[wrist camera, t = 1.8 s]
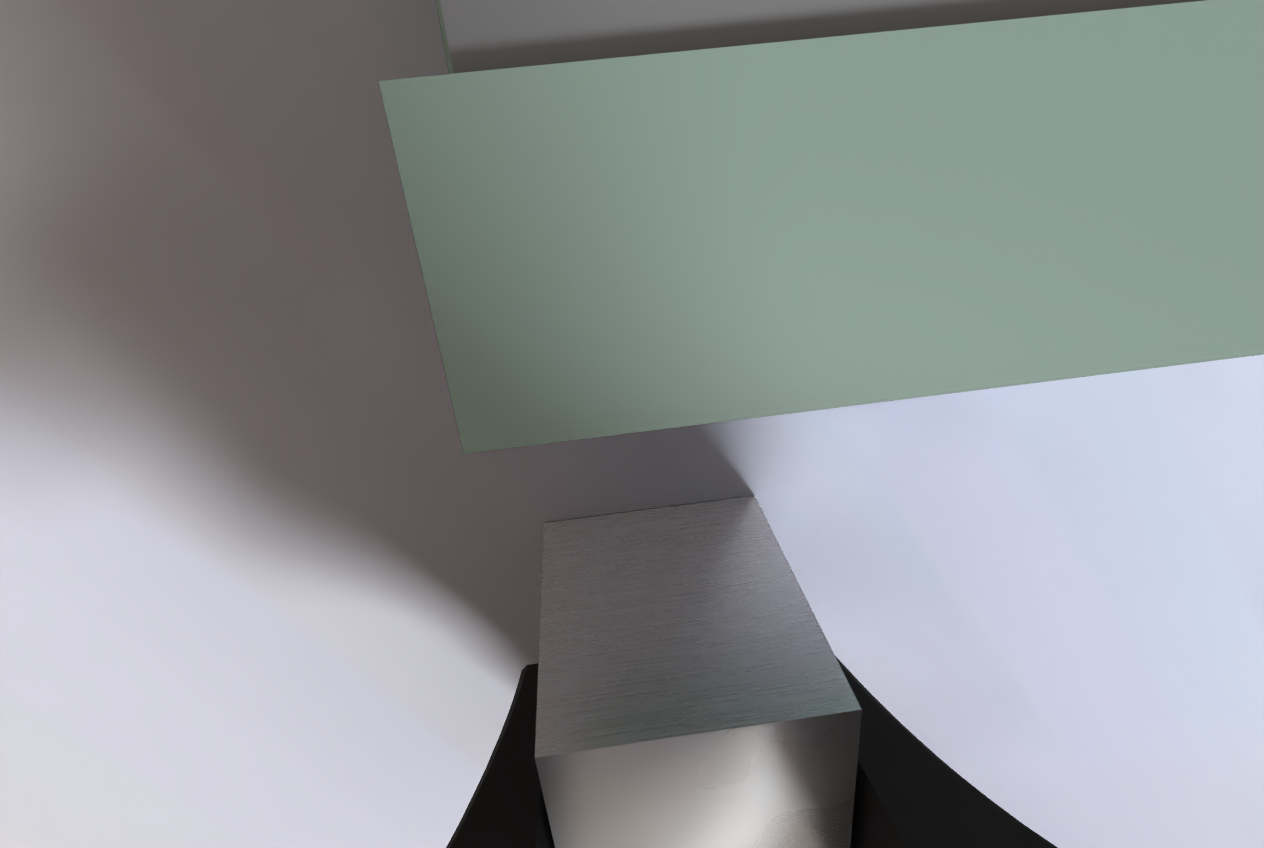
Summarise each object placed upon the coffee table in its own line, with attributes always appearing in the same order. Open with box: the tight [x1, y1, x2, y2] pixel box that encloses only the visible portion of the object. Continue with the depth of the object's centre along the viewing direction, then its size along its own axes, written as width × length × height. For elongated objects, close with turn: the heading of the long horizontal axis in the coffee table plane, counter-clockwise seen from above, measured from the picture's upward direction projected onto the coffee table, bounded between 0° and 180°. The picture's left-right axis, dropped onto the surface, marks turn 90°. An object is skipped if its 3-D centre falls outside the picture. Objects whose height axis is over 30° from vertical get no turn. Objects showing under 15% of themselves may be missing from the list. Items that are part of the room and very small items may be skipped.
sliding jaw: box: [378, 0, 1264, 454], centre depth 7 cm, size 10×4×4 cm, turn 95°
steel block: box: [535, 496, 862, 848], centre depth 12 cm, size 4×6×5 cm, turn 5°
